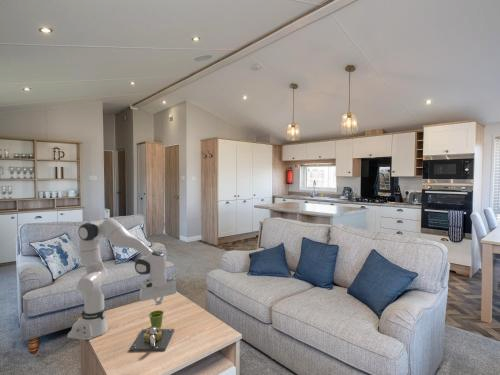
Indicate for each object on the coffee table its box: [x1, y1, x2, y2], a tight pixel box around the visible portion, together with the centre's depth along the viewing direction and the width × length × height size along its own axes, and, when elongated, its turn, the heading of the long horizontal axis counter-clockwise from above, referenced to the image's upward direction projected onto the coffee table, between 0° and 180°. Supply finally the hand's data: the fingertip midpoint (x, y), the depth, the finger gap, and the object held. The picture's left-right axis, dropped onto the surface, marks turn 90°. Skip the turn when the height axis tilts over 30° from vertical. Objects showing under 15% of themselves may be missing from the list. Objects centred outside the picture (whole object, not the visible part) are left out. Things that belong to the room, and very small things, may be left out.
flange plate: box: [129, 326, 175, 352], centre depth 173 cm, size 20×20×8 cm
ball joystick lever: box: [144, 327, 162, 347], centre depth 170 cm, size 16×10×6 cm, turn 17°
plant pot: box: [148, 309, 165, 329], centre depth 189 cm, size 9×9×9 cm
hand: (158, 304), depth 166 cm, fingers closed
